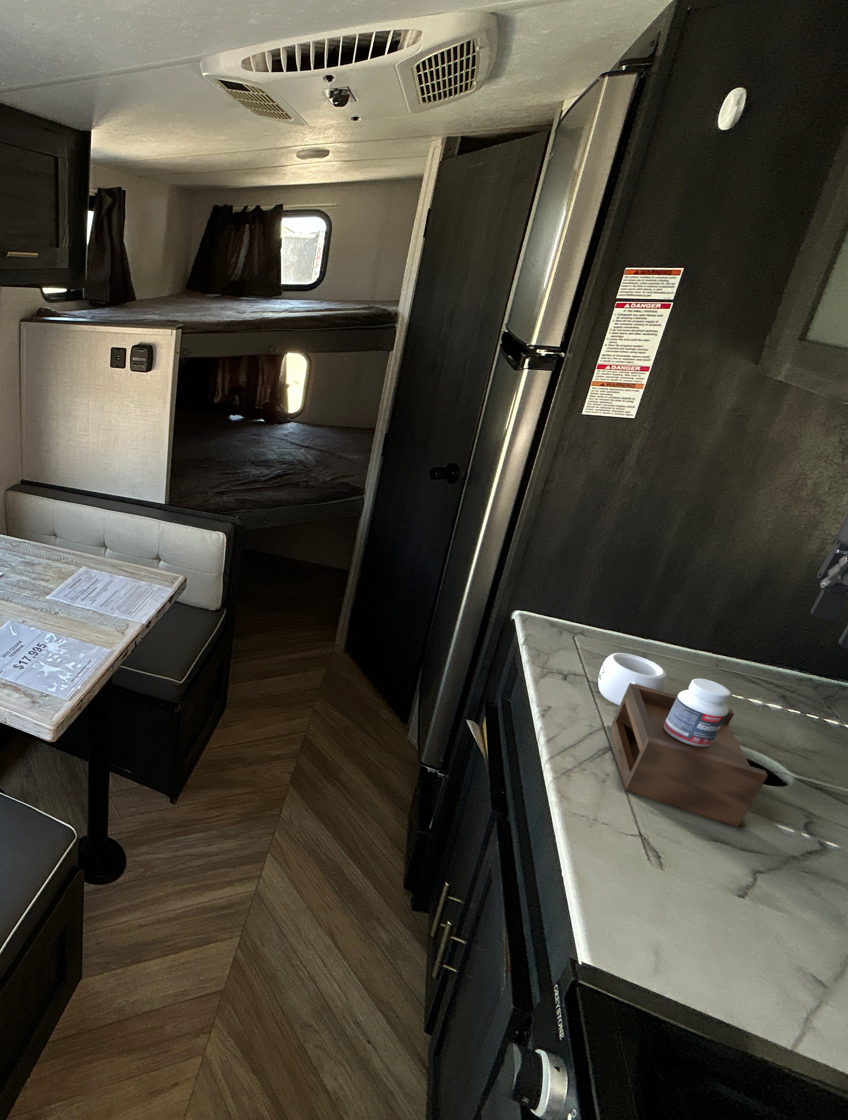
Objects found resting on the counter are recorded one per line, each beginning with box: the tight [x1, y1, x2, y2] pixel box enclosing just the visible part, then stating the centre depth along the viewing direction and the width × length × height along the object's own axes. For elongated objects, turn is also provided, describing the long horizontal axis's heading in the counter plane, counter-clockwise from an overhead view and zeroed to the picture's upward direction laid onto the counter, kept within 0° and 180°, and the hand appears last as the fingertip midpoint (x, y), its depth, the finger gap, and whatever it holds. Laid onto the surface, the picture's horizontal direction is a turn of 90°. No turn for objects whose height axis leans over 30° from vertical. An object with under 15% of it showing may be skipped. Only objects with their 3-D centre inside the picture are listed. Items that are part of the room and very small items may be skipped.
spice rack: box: [609, 683, 768, 829], centre depth 95 cm, size 12×16×10 cm
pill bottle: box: [664, 677, 731, 747], centre depth 92 cm, size 5×5×9 cm
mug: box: [597, 652, 668, 706], centre depth 110 cm, size 12×8×8 cm
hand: (835, 632), depth 79 cm, fingers open, 8 cm apart
